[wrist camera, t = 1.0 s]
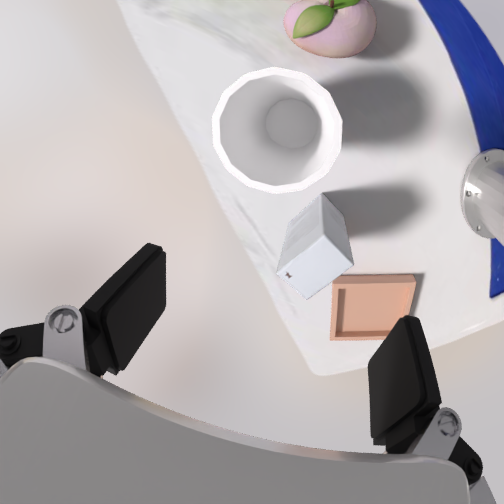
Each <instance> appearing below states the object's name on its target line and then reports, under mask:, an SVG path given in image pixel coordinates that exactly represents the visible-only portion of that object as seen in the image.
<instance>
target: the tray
mask: <svg viewBox="0 0 504 504" xmlns="http://www.w3.org/2000/svg"><path fill="white" fill-rule="evenodd" d="M415 286H416V280H415V278H414V276H413V274H406V275H344V276H339V277H337V278H336V279H335V280H333V281H332V306H331V324H330V340H384V339H385V338H386V337H387V336H388V334H389V333H390V331H391V330H392V328H393V327H394V325H395V324H396V322H397V321H398V319H399V318H403V316H405V315H409V311H410V307H411V303H412V299H413V295H414V291H415Z"/></svg>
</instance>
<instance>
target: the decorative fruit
mask: <svg viewBox="0 0 504 504" xmlns="http://www.w3.org/2000/svg"><path fill="white" fill-rule="evenodd" d="M376 25H377V21H376V15H375V12H374V10H373V8H372V6H371V5H370V4H369V2H368V1H367V0H300V1H298V2H296V3H294V4H293V5H292V6H290V7H289V8H288V10H287V11H286V13H285V16H284V28H285V31H286V33H287V35H288V36H289V38H290V39H291V40H292V41H293V42H294V43H295V44H296V45H297V46H298V47H300V48H301V49H303V50H305V51H308V52H310V53H313V54H316V55H319V56H323V57H329V58H346V57H350V56H353V55H356V54H358V53H360V52H361V51H363V50H364V49H365V48H366V47H367V46H368V45H369V44H370V42H371V41H372V39H373V37H374V35H375V31H376Z"/></svg>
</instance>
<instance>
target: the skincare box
mask: <svg viewBox="0 0 504 504" xmlns="http://www.w3.org/2000/svg"><path fill="white" fill-rule="evenodd" d="M353 265H354V262H353V257H352V252H351V247H350V242H349V238H348V233H347V229H346V224H345V220H344V216H343V214H342V213H341V212H340V211H339V210H338V209H337V208H336V207H335V206H334V205H333V204H332V203H331V202H330V201H329V200H328V199H327V198H326V197H325V195H324V194H322V193H321V194H320V195H319V196H317V197H316V198H315V199H314V200H313V201H312V202H311V203H310V204H309V205H308V206H306V207H305V208H304V209H303V210H302V211H301V212H300V213H299V214H298V215H297V216H296V217H295V218H293V219H292V220H291V221H290V222H289V224H288V228H287V232H286V236H285V240H284V244H283V248H282V252H281V256H280V260H279V263H278V267H277V271H276V274H277V275H278V276H279V277H280V278H281V279H283V280H284V281H285V282H286V283H287V284H289V285H290V286H291V287H292V288H293V289H294V290H295V291H297V292H298V293H299V294H300V295H301V296H302V297H304V298H305V299H306V300H307V299H309V298H310V297H312V296H313V295H315V294H316V293H317V292H319V291H320V290H321V289H323V288H324V287H325V286H327V285H328V284H329V283H331V282H332V281H333V280H335V279H336V278H337V277H339V276H340V275H341V274H343V273H344V272H345V271H347V270H348V269H349V268H350V267H352V266H353Z"/></svg>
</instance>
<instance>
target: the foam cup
mask: <svg viewBox="0 0 504 504" xmlns="http://www.w3.org/2000/svg"><path fill="white" fill-rule="evenodd" d="M212 132H213V146H214V148H215V149H216V151H217V153H218V155H219V157H220V159H221V161H222V163H223V165H224V167H225V169H226V170H227V171H229V172H230V173H231V174H233V175H234V176H235V177H236V178H238V179H239V180H240V181H241V182H243V183H244V184H245V185H246V186H247V187H251V188H255V189H258V190H262V191H266V192H269V193H273V194H279V193H285V192H292V191H299V190H304V189H305V188H307V187H308V186H310V185H311V184H313V183H314V182H316V181H317V180H319V179H320V178H322V177H324V176H325V175H327V173H328V171H329V170H330V168H331V166H332V164H333V163H334V161H335V159H336V158H337V156H338V154H339V152H340V151H341V142H342V118H341V116H340V114H339V112H338V109H337V107H336V105H335V103H334V101H333V99H332V97H331V95H330V93H329V92H328V91H327V90H326V89H324V88H323V87H322V86H321V85H319V84H318V83H317V82H316V81H314V80H313V79H312V78H311V77H309V76H308V75H307V74H305V73H302V72H297V71H293V70H288V69H284V68H279V67H271V68H266V69H262V70H258V71H254V72H250V73H246V74H244V75H243V76H242V77H241V78H239V79H238V80H237V81H236V82H234V83H233V84H232V85H231V86H230V87H228V88H227V89H226V90H225V91H224V92H223V93H222V96H221V98H220V100H219V102H218V105H217V107H216V109H215V111H214V114H213V116H212Z"/></svg>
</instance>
